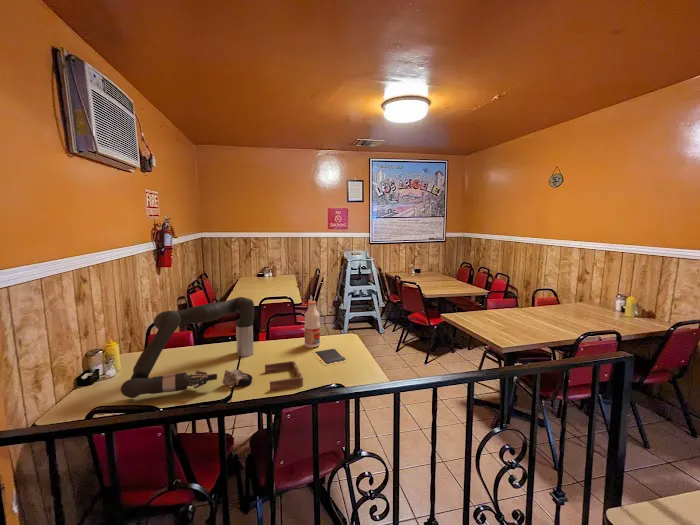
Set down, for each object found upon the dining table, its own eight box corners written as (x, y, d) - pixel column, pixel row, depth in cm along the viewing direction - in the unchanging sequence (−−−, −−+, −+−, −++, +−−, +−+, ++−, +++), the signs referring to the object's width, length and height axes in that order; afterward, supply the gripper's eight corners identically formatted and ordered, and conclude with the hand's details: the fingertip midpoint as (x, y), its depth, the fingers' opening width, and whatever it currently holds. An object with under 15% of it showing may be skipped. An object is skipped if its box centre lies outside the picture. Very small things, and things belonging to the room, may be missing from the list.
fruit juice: (306, 342, 218) (306, 299, 214) (320, 343, 218) (320, 300, 214) (303, 348, 209) (303, 303, 205) (318, 348, 208) (318, 303, 205)
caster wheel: (253, 386, 167) (240, 393, 157) (235, 377, 170) (221, 383, 161) (257, 373, 166) (243, 379, 157) (238, 364, 170) (224, 370, 161)
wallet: (348, 359, 190) (322, 363, 184) (348, 362, 190) (322, 367, 184) (335, 346, 208) (311, 350, 202) (335, 349, 209) (311, 353, 203)
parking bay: (265, 372, 176) (264, 364, 176) (294, 367, 182) (294, 360, 181) (270, 390, 157) (270, 382, 157) (302, 385, 163) (302, 377, 162)
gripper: (172, 381, 145) (216, 374, 151) (176, 368, 158) (216, 362, 164) (173, 397, 146) (217, 390, 152) (177, 383, 159) (217, 377, 165)
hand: (217, 376), depth 158 cm, fingers closed
